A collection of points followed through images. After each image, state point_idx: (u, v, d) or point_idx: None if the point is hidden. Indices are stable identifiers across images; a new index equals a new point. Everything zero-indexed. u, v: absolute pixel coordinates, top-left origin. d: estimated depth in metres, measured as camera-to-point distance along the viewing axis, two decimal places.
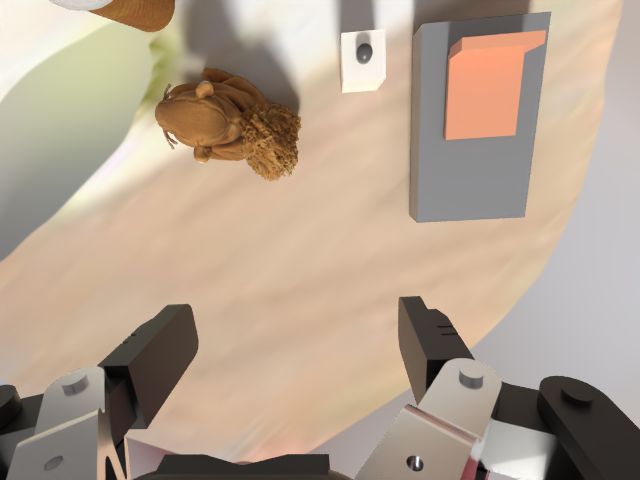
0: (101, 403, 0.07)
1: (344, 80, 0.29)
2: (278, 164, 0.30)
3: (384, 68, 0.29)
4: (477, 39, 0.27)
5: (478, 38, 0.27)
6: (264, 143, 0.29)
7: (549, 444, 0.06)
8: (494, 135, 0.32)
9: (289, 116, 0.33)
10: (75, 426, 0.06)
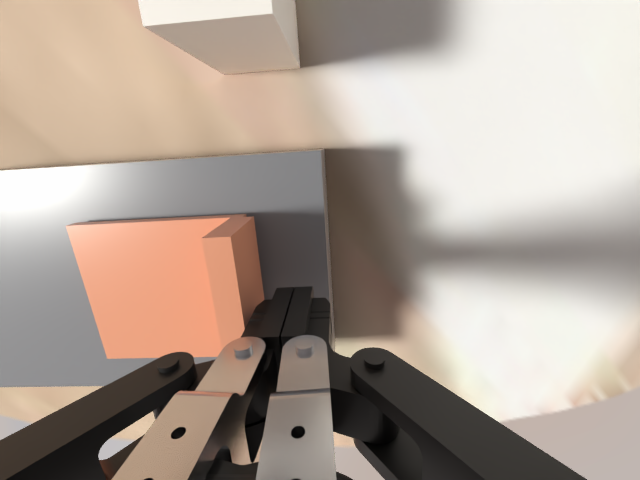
0: (246, 383, 0.07)
1: None
2: None
3: (168, 20, 0.09)
4: (229, 273, 0.11)
5: (232, 276, 0.11)
6: None
7: (349, 400, 0.07)
8: (98, 322, 0.15)
9: None
10: (209, 402, 0.06)
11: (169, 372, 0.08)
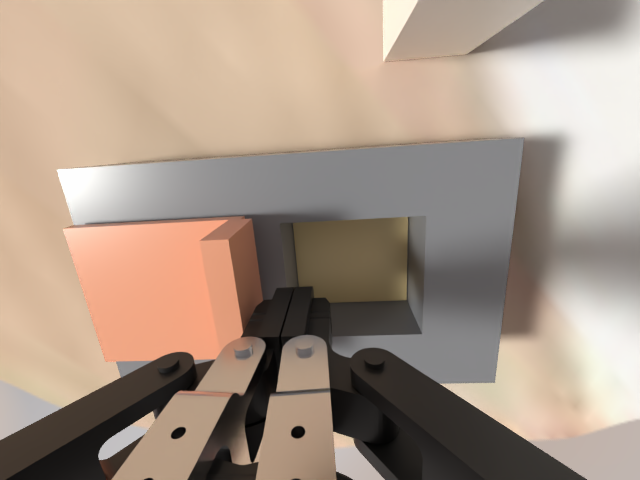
0: (246, 383, 0.07)
1: None
2: None
3: None
4: (227, 276, 0.11)
5: (230, 279, 0.11)
6: None
7: (349, 400, 0.07)
8: (96, 325, 0.15)
9: None
10: (210, 402, 0.06)
11: (169, 372, 0.08)
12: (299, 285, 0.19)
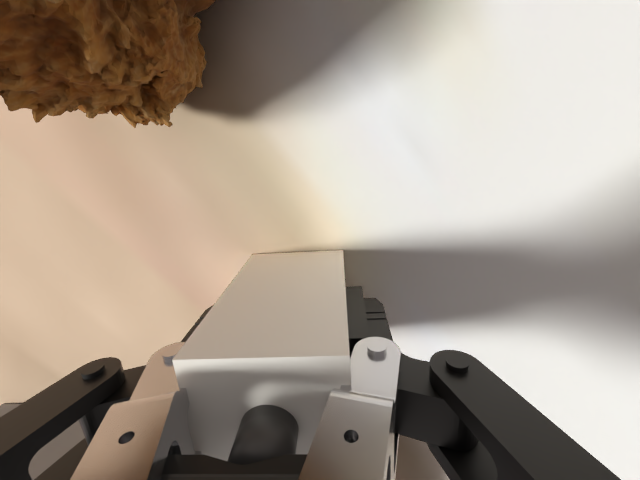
0: None
1: (177, 364, 0.07)
2: None
3: None
4: None
5: None
6: None
7: (431, 405, 0.07)
8: None
9: (108, 78, 0.08)
10: (153, 404, 0.06)
11: (92, 378, 0.08)
12: None
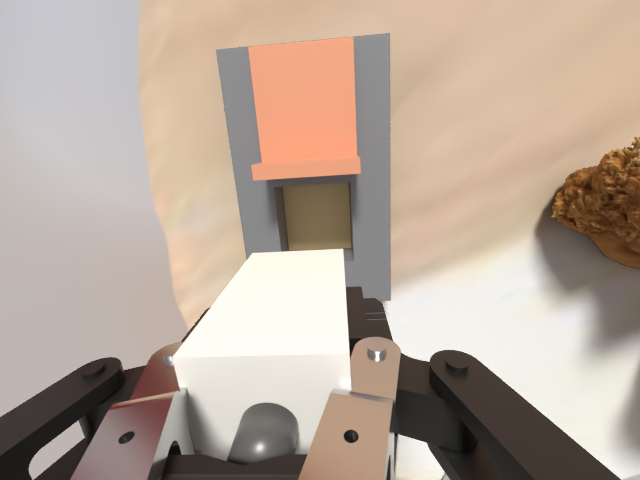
0: None
1: (177, 362, 0.07)
2: None
3: None
4: (340, 171, 0.20)
5: (338, 172, 0.20)
6: None
7: (432, 405, 0.07)
8: (279, 45, 0.21)
9: (586, 222, 0.23)
10: (153, 404, 0.06)
11: (92, 378, 0.08)
12: None
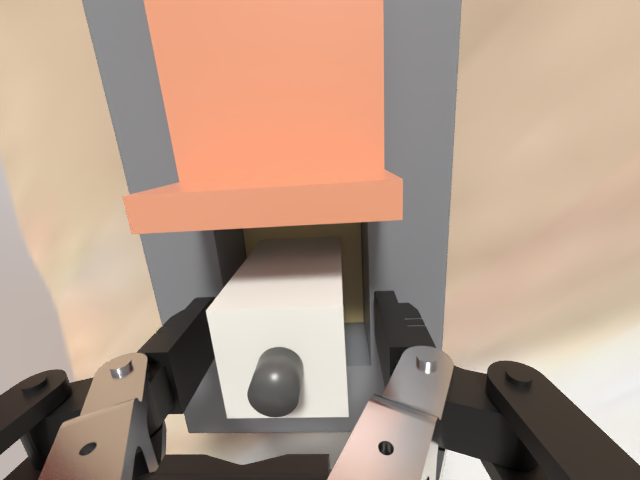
0: (140, 391, 0.07)
1: (209, 314, 0.09)
2: None
3: (250, 415, 0.10)
4: (349, 213, 0.08)
5: (344, 217, 0.08)
6: None
7: (492, 422, 0.07)
8: None
9: None
10: (112, 413, 0.06)
11: (32, 392, 0.07)
12: None
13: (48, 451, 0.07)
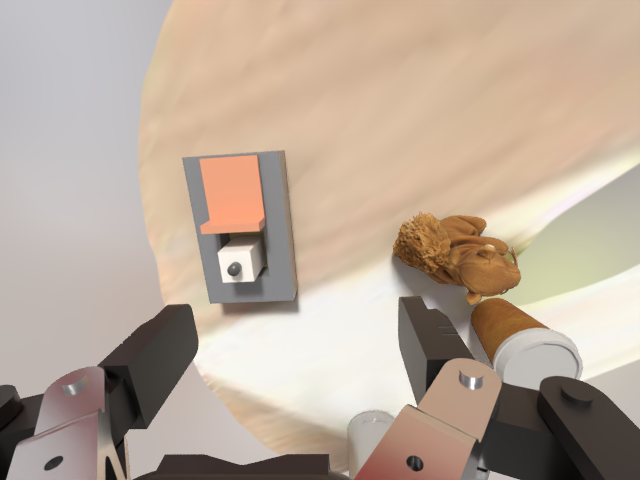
0: (101, 403, 0.07)
1: (218, 253, 0.38)
2: (419, 234, 0.34)
3: (229, 281, 0.39)
4: (248, 229, 0.36)
5: (247, 230, 0.36)
6: (429, 252, 0.34)
7: (549, 444, 0.06)
8: (216, 158, 0.37)
9: (403, 259, 0.40)
10: (75, 426, 0.06)
11: None
12: None
13: (0, 470, 0.07)
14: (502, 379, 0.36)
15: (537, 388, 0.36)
